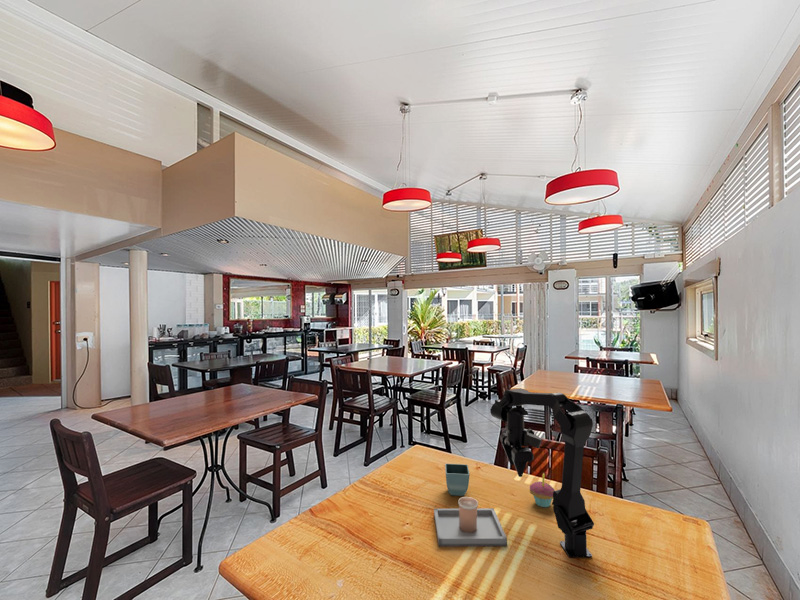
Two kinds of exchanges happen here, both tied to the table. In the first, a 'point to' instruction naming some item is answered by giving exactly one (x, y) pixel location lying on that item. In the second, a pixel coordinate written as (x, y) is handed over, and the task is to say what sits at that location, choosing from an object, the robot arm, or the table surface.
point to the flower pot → (457, 478)
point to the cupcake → (542, 493)
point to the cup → (468, 514)
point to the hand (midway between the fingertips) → (516, 470)
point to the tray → (484, 536)
